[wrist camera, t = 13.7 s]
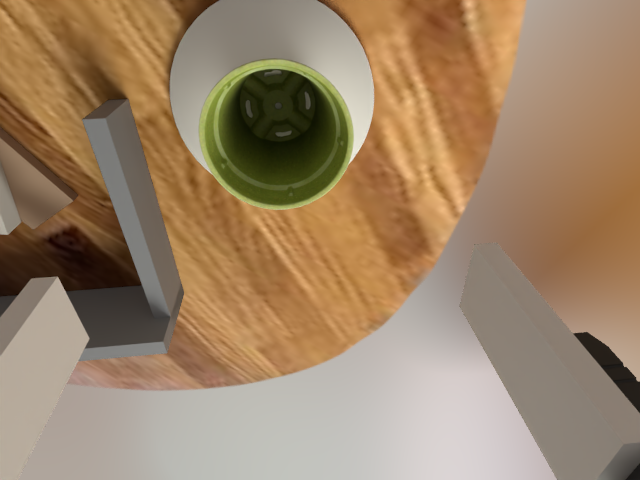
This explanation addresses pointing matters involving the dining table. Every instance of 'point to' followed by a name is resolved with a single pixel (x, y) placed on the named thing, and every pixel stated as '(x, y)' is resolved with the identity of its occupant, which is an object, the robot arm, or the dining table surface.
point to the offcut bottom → (32, 183)
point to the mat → (268, 57)
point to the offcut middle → (7, 207)
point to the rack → (143, 242)
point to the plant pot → (264, 145)
